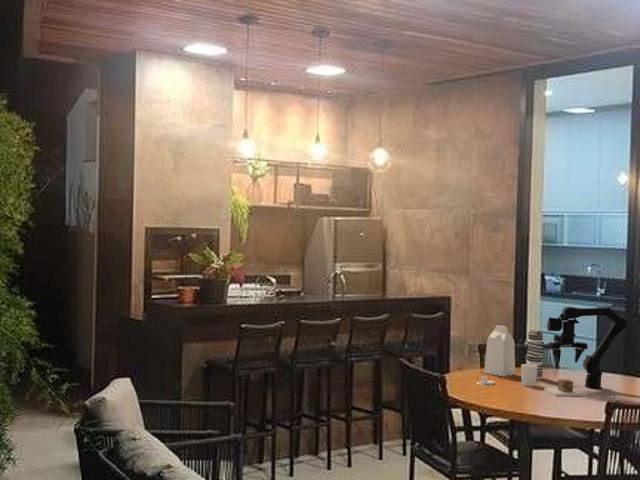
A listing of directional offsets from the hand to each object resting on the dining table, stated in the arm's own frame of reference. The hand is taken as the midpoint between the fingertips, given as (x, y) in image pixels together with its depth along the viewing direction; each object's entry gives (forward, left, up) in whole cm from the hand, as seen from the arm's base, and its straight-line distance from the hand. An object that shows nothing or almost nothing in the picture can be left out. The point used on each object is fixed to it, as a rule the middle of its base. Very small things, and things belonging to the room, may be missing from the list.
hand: (567, 362), depth 398 cm
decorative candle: (+7, -23, -12) cm, 27 cm away
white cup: (+19, -3, -12) cm, 23 cm away
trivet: (+9, +17, -12) cm, 23 cm away
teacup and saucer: (+40, -3, -13) cm, 42 cm away
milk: (+22, -34, -12) cm, 42 cm away
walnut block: (+9, +17, -11) cm, 22 cm away
